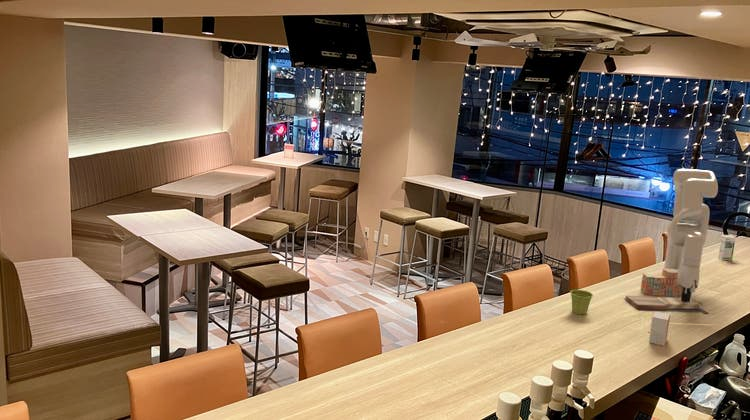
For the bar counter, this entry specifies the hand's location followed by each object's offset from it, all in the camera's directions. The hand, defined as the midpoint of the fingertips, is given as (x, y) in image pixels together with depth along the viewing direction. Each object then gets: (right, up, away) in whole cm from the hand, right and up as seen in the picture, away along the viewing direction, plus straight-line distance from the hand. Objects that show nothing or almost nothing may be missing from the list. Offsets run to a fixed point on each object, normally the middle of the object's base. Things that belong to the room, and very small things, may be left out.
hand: (685, 301), depth 267 cm
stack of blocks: (0, 0, +18) cm, 18 cm away
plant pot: (-52, -3, -11) cm, 53 cm away
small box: (-31, -10, -39) cm, 51 cm away
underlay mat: (-9, -2, +1) cm, 9 cm away
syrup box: (+71, +11, +90) cm, 115 cm away
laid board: (-18, -2, 0) cm, 18 cm away
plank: (-3, -2, +1) cm, 4 cm away
